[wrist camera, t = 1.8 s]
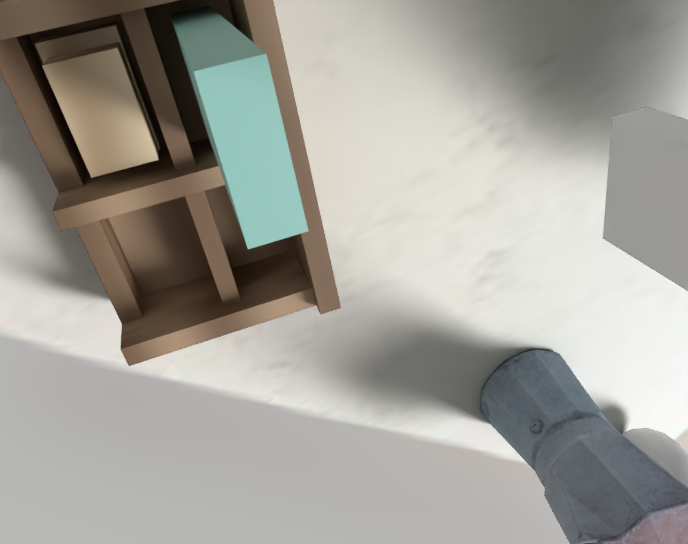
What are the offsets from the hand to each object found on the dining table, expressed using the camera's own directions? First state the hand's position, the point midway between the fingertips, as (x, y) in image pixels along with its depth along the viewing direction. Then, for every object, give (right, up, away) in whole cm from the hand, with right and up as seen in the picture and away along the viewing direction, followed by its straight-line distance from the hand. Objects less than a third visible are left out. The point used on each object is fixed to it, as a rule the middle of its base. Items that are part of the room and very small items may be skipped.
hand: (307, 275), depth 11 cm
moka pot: (+17, -10, +42) cm, 46 cm away
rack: (-9, +7, +22) cm, 25 cm away
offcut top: (-11, +8, +17) cm, 22 cm away
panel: (-7, +11, +19) cm, 23 cm away
